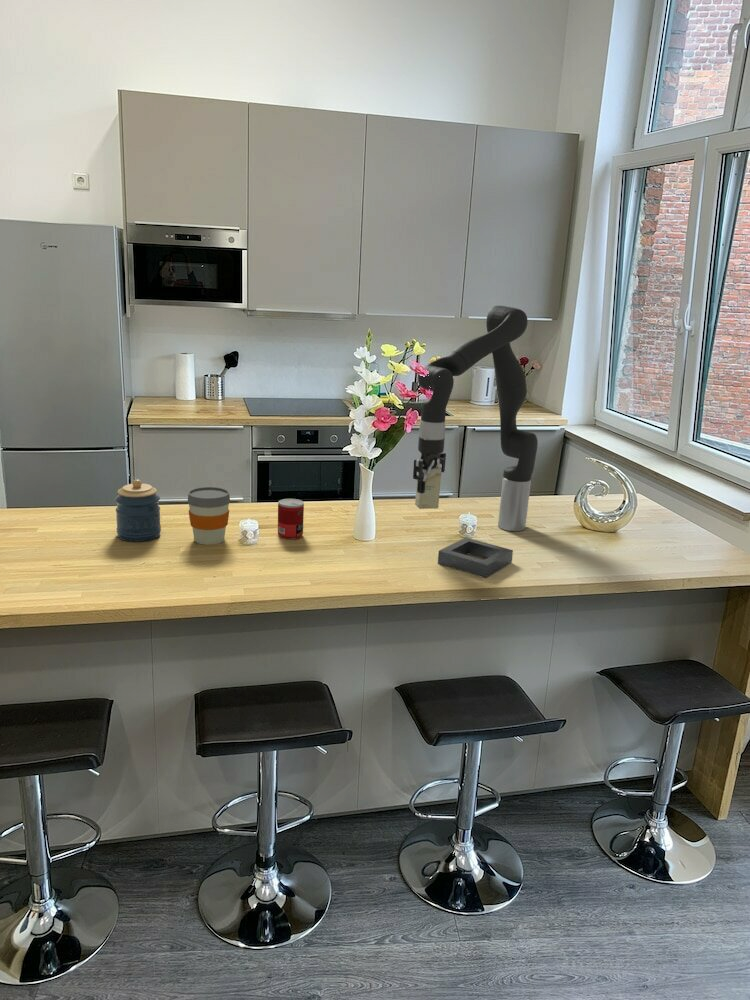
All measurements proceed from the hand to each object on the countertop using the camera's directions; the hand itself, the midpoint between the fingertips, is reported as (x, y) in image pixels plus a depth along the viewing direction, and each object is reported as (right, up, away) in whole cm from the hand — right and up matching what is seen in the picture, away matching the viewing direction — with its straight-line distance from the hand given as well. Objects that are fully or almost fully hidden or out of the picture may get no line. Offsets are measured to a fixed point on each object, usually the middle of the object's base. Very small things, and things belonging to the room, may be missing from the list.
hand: (428, 489), depth 231 cm
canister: (-88, -14, +7) cm, 89 cm away
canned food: (-42, -14, +14) cm, 47 cm away
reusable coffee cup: (-66, -15, +6) cm, 68 cm away
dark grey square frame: (+14, -22, -1) cm, 26 cm away
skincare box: (0, -5, +2) cm, 5 cm away
